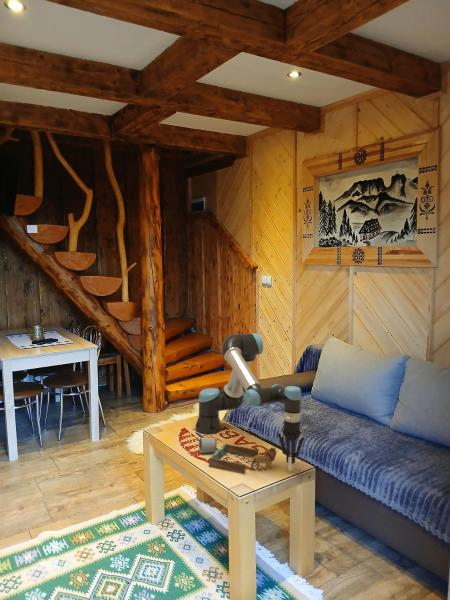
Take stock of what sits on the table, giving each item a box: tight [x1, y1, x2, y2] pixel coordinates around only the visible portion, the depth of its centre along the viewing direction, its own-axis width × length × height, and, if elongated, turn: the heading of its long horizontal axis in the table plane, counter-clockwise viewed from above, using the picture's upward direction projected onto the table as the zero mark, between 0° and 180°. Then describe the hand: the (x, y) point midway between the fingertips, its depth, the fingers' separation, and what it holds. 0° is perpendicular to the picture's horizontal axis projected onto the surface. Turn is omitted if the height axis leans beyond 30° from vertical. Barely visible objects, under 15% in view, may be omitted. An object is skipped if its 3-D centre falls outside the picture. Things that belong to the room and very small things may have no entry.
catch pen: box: [208, 443, 259, 474], centre depth 229 cm, size 20×18×4 cm
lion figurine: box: [249, 447, 277, 472], centre depth 223 cm, size 15×5×9 cm, turn 120°
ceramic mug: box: [198, 437, 218, 454], centre depth 242 cm, size 11×8×8 cm
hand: (290, 469), depth 219 cm, fingers closed
